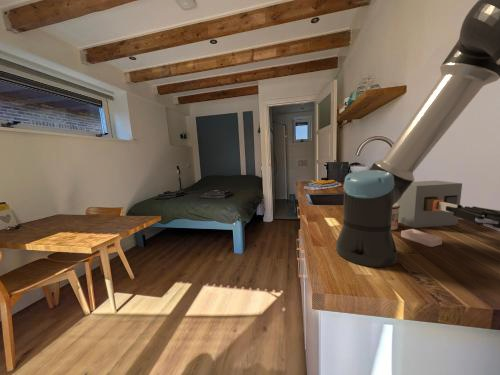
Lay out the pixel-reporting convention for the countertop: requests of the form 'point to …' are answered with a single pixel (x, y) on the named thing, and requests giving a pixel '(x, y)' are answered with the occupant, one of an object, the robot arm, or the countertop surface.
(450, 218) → the panel
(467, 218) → the robot arm
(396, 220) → the teacup with lid
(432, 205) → the plunger
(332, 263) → the countertop surface
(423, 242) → the soap bar
